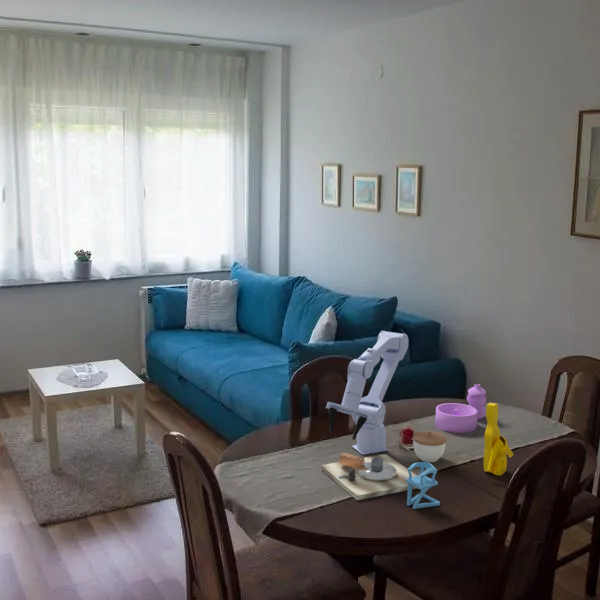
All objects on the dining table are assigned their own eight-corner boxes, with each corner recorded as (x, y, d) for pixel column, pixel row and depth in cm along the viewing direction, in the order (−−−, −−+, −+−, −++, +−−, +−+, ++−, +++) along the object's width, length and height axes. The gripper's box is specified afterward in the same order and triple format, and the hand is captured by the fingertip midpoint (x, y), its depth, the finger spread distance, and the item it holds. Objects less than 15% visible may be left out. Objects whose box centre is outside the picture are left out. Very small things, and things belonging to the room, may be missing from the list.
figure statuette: (493, 483, 230) (498, 415, 226) (470, 476, 235) (474, 409, 231) (518, 465, 243) (522, 401, 239) (495, 459, 248) (499, 396, 244)
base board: (385, 458, 249) (386, 445, 248) (426, 486, 227) (426, 472, 226) (321, 469, 239) (321, 456, 238) (357, 500, 217) (357, 485, 216)
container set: (462, 436, 270) (463, 401, 267) (427, 425, 280) (428, 391, 278) (498, 420, 287) (500, 387, 285) (463, 410, 298) (465, 378, 295)
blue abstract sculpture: (400, 502, 217) (402, 463, 214) (421, 495, 221) (423, 457, 219) (419, 512, 210) (421, 472, 208) (440, 505, 215) (442, 465, 213)
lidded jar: (448, 455, 251) (449, 429, 249) (440, 467, 241) (441, 440, 240) (417, 450, 255) (418, 424, 254) (408, 461, 246) (409, 434, 244)
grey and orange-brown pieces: (402, 470, 234) (402, 458, 233) (386, 484, 224) (387, 471, 223) (349, 458, 243) (350, 446, 243) (332, 471, 233) (332, 458, 233)
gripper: (332, 387, 238) (321, 428, 235) (376, 400, 238) (365, 441, 234) (330, 390, 245) (319, 430, 242) (373, 402, 245) (362, 443, 241)
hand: (341, 435), depth 239 cm, fingers open, 7 cm apart
